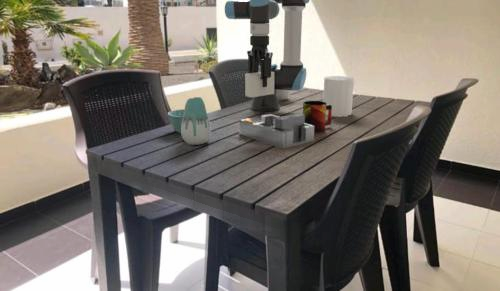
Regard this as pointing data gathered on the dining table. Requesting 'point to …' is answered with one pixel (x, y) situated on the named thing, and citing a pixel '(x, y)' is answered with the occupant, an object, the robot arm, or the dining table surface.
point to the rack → (279, 130)
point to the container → (339, 95)
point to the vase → (195, 122)
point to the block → (257, 84)
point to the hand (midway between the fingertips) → (259, 93)
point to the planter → (283, 94)
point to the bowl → (176, 119)
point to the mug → (317, 114)
